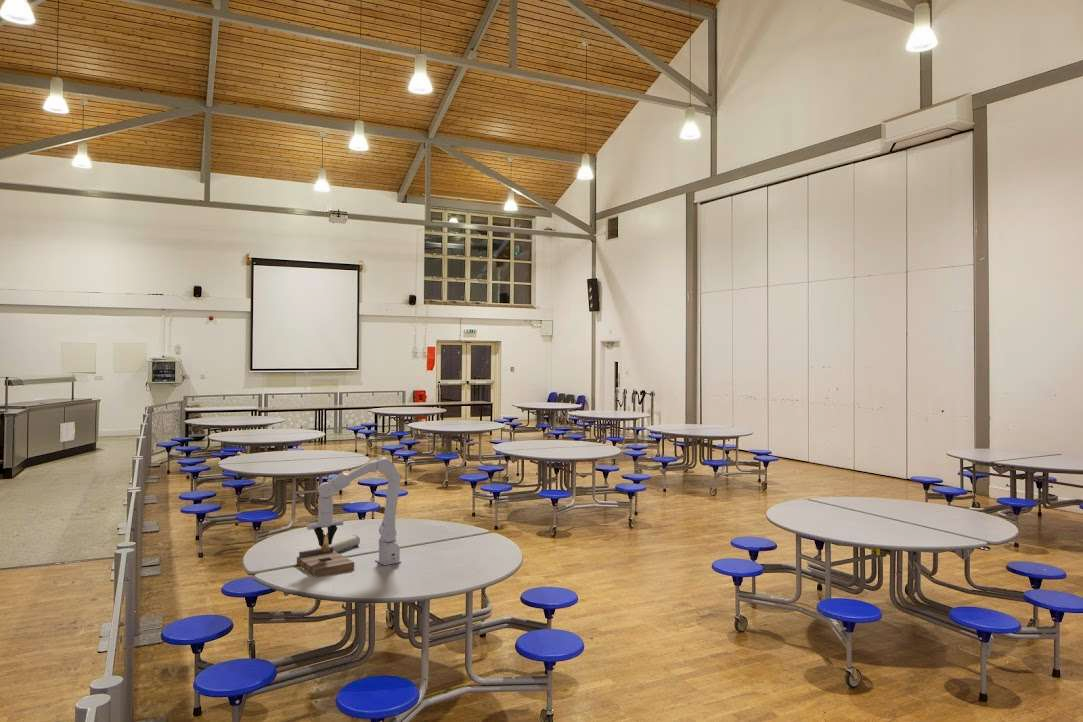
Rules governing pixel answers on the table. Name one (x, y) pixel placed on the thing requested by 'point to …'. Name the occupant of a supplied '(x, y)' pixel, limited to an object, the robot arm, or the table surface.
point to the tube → (344, 543)
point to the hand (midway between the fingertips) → (325, 544)
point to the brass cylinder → (325, 542)
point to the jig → (324, 562)
